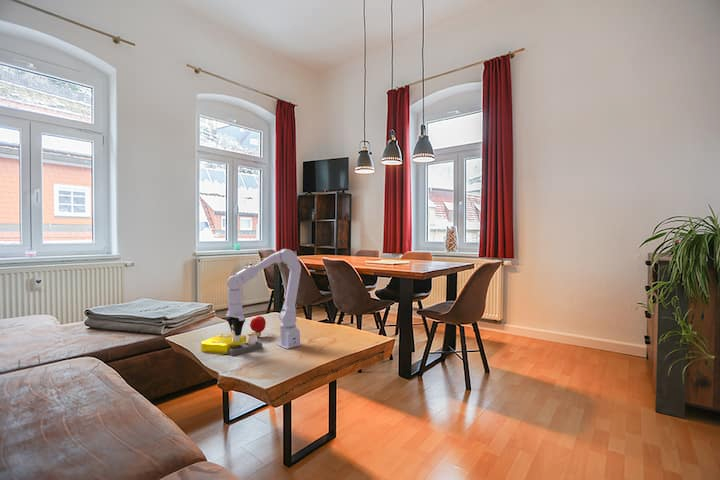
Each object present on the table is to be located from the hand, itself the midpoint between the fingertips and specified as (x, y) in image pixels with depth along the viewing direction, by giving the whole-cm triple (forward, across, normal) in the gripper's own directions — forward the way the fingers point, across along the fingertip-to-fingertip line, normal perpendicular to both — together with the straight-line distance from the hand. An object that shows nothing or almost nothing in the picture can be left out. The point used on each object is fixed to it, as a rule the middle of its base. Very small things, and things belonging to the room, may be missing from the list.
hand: (236, 334), depth 155 cm
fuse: (+8, 0, +7) cm, 11 cm away
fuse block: (+8, 0, +3) cm, 9 cm away
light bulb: (+8, -14, +16) cm, 23 cm away
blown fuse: (+3, 0, 0) cm, 3 cm away
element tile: (+9, -11, -2) cm, 14 cm away
